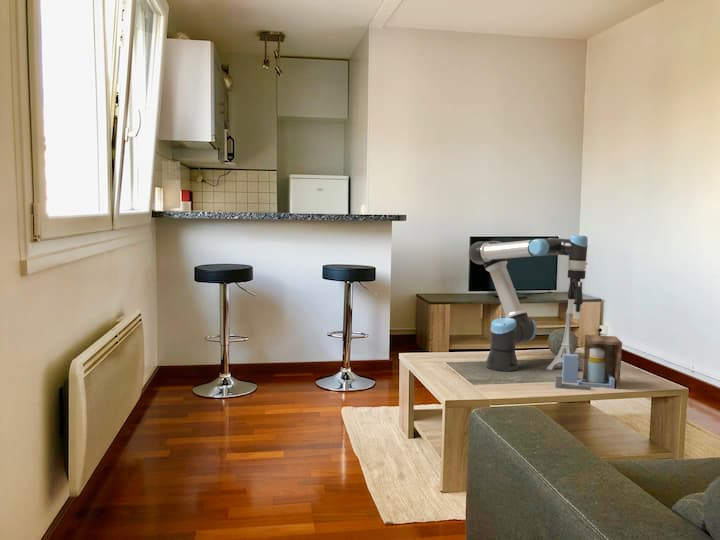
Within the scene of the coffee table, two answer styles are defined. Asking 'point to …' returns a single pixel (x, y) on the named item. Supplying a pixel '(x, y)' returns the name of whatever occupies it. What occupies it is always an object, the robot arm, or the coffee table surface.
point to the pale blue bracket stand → (572, 373)
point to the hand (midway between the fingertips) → (573, 316)
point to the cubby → (611, 355)
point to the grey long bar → (569, 386)
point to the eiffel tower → (565, 346)
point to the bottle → (596, 366)
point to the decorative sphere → (560, 340)
